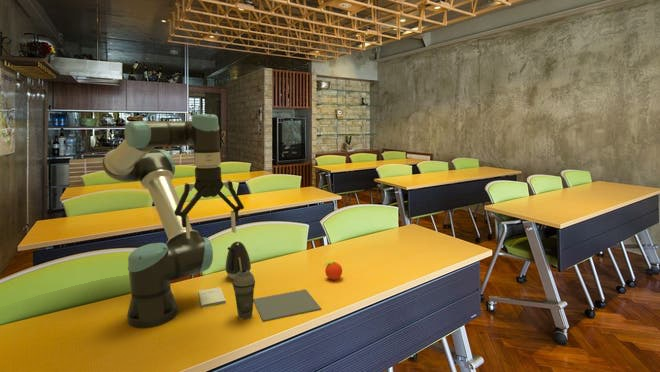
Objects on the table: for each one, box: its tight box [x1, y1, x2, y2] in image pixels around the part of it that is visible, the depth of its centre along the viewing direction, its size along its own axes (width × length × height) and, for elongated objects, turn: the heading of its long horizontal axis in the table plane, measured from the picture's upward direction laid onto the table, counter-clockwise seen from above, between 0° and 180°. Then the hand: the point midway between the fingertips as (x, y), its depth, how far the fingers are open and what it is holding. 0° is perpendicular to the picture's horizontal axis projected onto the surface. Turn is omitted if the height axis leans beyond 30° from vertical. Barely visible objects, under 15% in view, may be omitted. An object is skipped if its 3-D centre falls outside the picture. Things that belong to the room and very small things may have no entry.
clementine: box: [323, 261, 343, 281], centre depth 151 cm, size 8×7×7 cm
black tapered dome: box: [224, 241, 252, 280], centre depth 153 cm, size 10×10×15 cm
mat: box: [253, 289, 322, 322], centre depth 130 cm, size 20×16×1 cm
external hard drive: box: [197, 286, 227, 309], centre depth 136 cm, size 2×8×12 cm
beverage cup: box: [232, 257, 256, 320], centre depth 121 cm, size 7×7×20 cm
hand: (211, 234), depth 116 cm, fingers open, 13 cm apart
